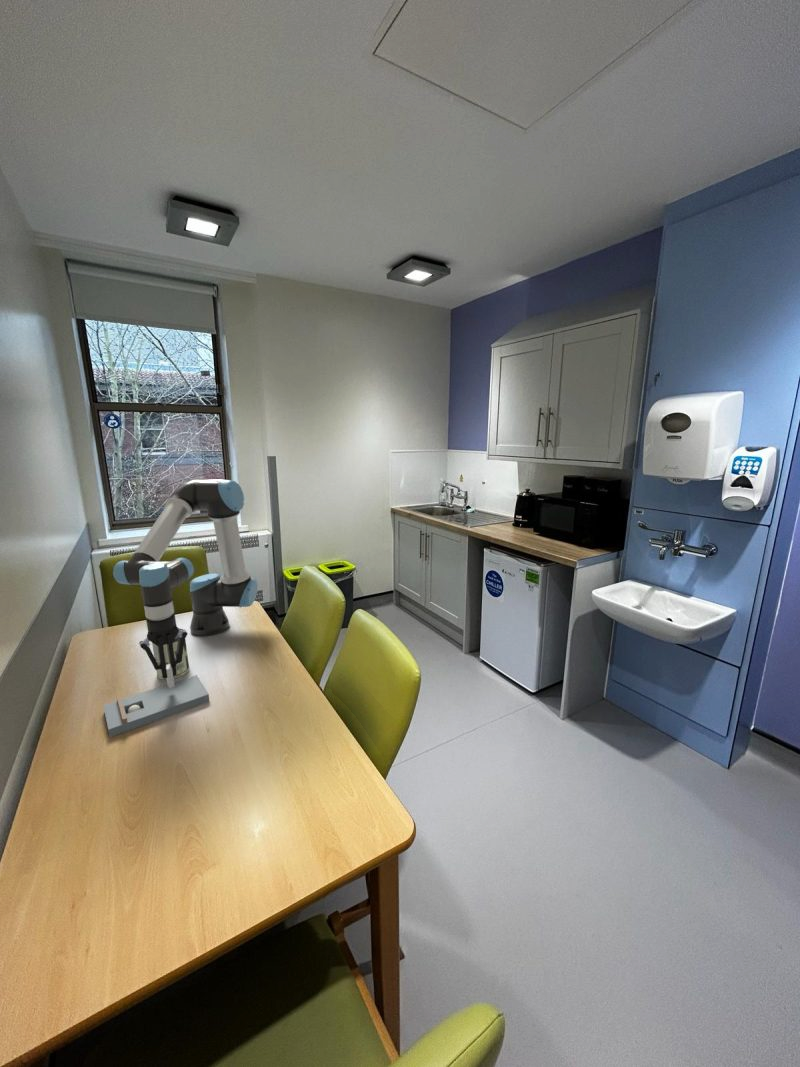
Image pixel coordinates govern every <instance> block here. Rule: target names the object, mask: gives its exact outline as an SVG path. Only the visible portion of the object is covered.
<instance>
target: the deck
mask: <svg viewBox="0 0 800 1067" xmlns="http://www.w3.org/2000/svg"><path fill="white" fill-rule="evenodd" d="M174 685H175V687H172V688H169V686H168V684H167V683H166V684H164V685H161V686H158V687H155V688H152V689H148V690H145V691H142V692H139V693H136V694H134V695H129V696H126V697H122V696H121V694H119V695H116V700H114V701H111V702H109V703H105V704H103V705H102V706H103V711H104V716H105V721H106V726H107V730H108V735H109V738H112V737H116V736H118V735H121V734H124V733H126V732H129V731H132V730H134V729H137V728H140V727H142V726H146V725H148V724H151V723H153V722H156V721H159V720H162V719H164V718H167V717H171V716H172V715H173V716H174V715H175V714H178V713H181V712H184V711H187V710H189V709H193V708H195V707H197V706H200V705H203V704H206V703H209V702H210V696H209V692H208V691H207V689H206V688H205V686H204V685H203V683H202V681H201V680H200V677H198V675H197V674H196V675H193V676H188V677H186V678H183V679H180V680H176V681H174ZM133 705H138V706H140V708H141V709H140V710H137V711H134V712H131V713H128V710H129V708H130V707H131V706H133Z"/></svg>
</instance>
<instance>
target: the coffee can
mask: <svg viewBox="0 0 800 1067" xmlns="http://www.w3.org/2000/svg"><path fill="white" fill-rule="evenodd" d="M179 630H184V629H183V628H179ZM178 638H179V636H178V634H177V636H176V637H175V639H174V641H173V650H174V657H175V658H176V652H177V645H178ZM186 642H187V640H186V639H185V641H184V648H183V655H182V661H181V663H178V664H176V672H177V674H176V675H174V676H173V678H174V679H176V678H180V677H182V676H184V675H186V674H187V673H188V672H189V670H190V664H189V663H190V662H189V657H188V650H187V649H188V648H187V643H186ZM151 645H152V650H153V651H152V653H153V656H154V658H155V659H156V661H157V663H158V664H160V661H159V654H158V648H157V646H156V645H155V644H153V643H152V642H151ZM163 647H164V655H165V662H166V665H169V664H170V662H169V655H168V649H167V644H165V645H163ZM155 671H156V677H157V678H158V679H160V680H167V678H165V679H164V678H163V677H162V672H161V669H158V670H155Z"/></svg>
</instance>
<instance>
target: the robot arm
mask: <svg viewBox="0 0 800 1067" xmlns="http://www.w3.org/2000/svg"><path fill="white" fill-rule="evenodd" d="M244 501H245V496H244V493H243V490H242V487H241V486H240V484H239V483H238V482H236V481H235V480H232V479H225V478H224V479H193V480H189V481H187V482H185V483H183V484H182V485H180V486H179V487H177V488H176V489H175V490H174V491H173V492H172V493H171V494H170V495H169V496H168V498H166V500H165V502H164V507H165V508H164V509H163V510H162V512H161V513H160V514H159V516H158V517H157V519H156V520H155V522H154V523H153V525H152V527H151V528H150V529H149V530H148V532H147V534H146V535H145V537H143V539H142V540H141V542H140V544H139V545H138V547H137V548H136V549H135V551H134V553H133V554H132V556H130V558H129V559H125V560H120V561H118V562H116V564H115V565H114V567H113V571H112V574H113V578H114V580H115V581H116V582H117V583H118V584H121V585H130V586H133V585H136V586H137V585H140V590H141V595H142V596H141V597H142V600H143V608H144V614H145V618H146V628H147V634H146V638H145V639H143V640H140V641H139V643H138V645H139V646H140V648H141V649H142V650H143V651H145V653H146V654H147V657H148V658H149V660H150V662H151V664H152V666H153V669H154V670H155V671H156V670H158V669H161V672H162V677H163V678H164V679H163V680H166V685H167V684H168V686H169V688H172V687H175V685H174V682H175V678H173V676H174V675H176V674H177V672H176V664H178V663H181V661H182V655H183V648H184V641H185V640H186V638H187V636H188V632H187V630H186V629H183V630H179V629H180V627H178V626H177V621H176V614H175V607H174V600H173V593H172V590H174V589H175V588H177V587H179V586H180V585H182V584H184V583H186V582H187V581H188V580H189V579H191V577H193V575H194V572H195V568H194V565H193V563H192V562H191V561H190V560H189V559H188V558H185V557H178V558H174V559H172V560H170V561H169V560H168V561H166V560H161V559H162V557H163V555H164V554H165V552H166V550H167V549H168V547H169V546H170V544H171V542H172V541H173V539H174V538H175V536H176V535H177V533H178V531H179V530H180V528H181V527H182V525H183V523H184V521H185V520H186V519H187V518H189V517H191V515H192V514H193V513H194V512H196V511H206V513H207V516H208V518H209V519H210V520H211V521H212V522H213V527H214V531H215V533H214V534H215V536H216V537H215V538H216V543H217V548H218V553H219V558H220V564H221V569H222V575H221V576H220V574H218V573H214V572H213V573H208V574H203V575H200V576H197V577H195V578H193V579H192V580H190V583H189V592H190V599H191V606H192V607H191V608H192V617H191V622H190V626H189V629H190V633H191V634H192V635H193V636H199V637H204V636H205V637H206V636H214V635H217V634H220V633H222V632H224V631H226V630H227V629H228V628H229V627H230V622H229V621H230V620H229V618H228V617H227V616H228V615H226V614H227V613H226V612H225V611H224V610H225V609H224V608H223V607H225V608H226V607H227V608H235V607H237V608H248V607H251V606H252V605H253V604H254V602H255V601H256V598H257V594H258V589H259V588H258V581H257V579H254V578H252V576H251V573H250V572H249V571H248V570H247V569H246V566H245V559H244V554H243V548H242V542H241V536H240V530H239V524H238V523H239V522H238V516H239V515H240V514H241V510H242V509H243V507H244V505H245V502H244ZM177 634H178V636H179V638H178V645H177V652H176V658H175V657H174V650H173V641H174V639H175V637H176V636H177ZM150 643H151V644H152V643H153V644H155V645H156V646H157V648H158V654H159V661H160V664H158V663H157V661H156V659H155V658H154V653H153V651H152V650H151V648H150V645H151V644H150ZM165 644H167V649H168V655H169V662H170V664H169V665H166V662H165V655H164V647H163V645H165ZM165 678H167V679H165Z"/></svg>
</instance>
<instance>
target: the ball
mask: <svg viewBox="0 0 800 1067" xmlns="http://www.w3.org/2000/svg"><path fill="white" fill-rule="evenodd" d="M140 709H142V708H140V706H138V705H133V706H131V707H130V708H129V710H128V713H131V712H134V711H137V710H140ZM128 713H127V714H128Z"/></svg>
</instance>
